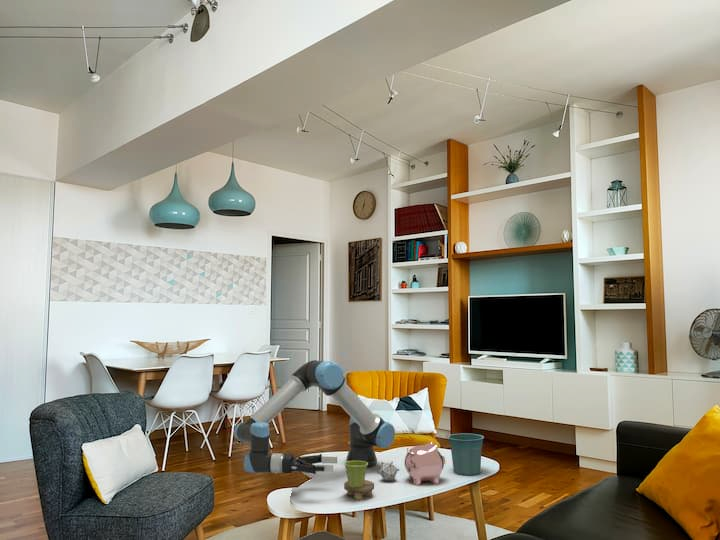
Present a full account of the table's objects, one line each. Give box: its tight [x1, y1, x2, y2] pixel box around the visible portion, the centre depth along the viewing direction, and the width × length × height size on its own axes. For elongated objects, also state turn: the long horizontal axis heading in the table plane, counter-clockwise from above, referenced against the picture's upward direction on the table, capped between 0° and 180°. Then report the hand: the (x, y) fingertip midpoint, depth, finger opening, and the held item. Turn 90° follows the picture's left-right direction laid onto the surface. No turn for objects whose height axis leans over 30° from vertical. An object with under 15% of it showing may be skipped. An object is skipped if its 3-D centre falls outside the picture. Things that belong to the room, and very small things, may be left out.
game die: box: [377, 461, 400, 483], centre depth 240 cm, size 9×8×10 cm
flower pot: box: [447, 432, 485, 476], centre depth 254 cm, size 16×16×16 cm
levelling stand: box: [343, 479, 375, 501], centre depth 219 cm, size 12×12×4 cm
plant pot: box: [343, 461, 368, 488], centre depth 217 cm, size 9×9×9 cm
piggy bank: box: [404, 440, 446, 486], centre depth 240 cm, size 15×18×16 cm
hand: (335, 464), depth 220 cm, fingers open, 13 cm apart
